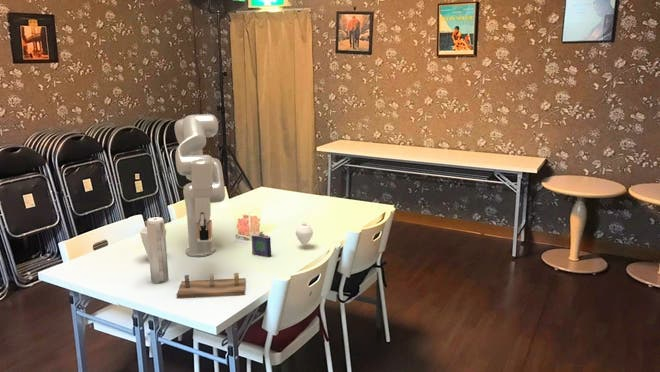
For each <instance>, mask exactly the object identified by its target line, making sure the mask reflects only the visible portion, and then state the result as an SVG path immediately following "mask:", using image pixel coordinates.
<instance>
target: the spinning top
mask: <svg viewBox="0 0 660 372" xmlns="http://www.w3.org/2000/svg"><path fill="white" fill-rule="evenodd" d="M313 234H314V231H313V228H311V226H310V225H308V224H307V221H306V222H305V221H302V222H301V225H298V227H297V228H296V230H295V236H296V238H297V240H298V242H300V243H301V245H302V246H303V248H304V249H305V248H306V246H307V245H308V244H309V242H310V240H311V239H312V237H313Z"/></svg>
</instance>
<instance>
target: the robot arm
mask: <svg viewBox="0 0 660 372" xmlns="http://www.w3.org/2000/svg"><path fill="white" fill-rule="evenodd" d="M218 131H219V122H218V119H217V117H216V116H215V115H214V114H210V113H206V114H204V113H203V114H190V115H187V116H184V117H183V118H181V119H178V120H177V121H176V122H175V123H174V133H175V138H176V141H177V143H178V144H179V145H178V146H177V147H176V150H175V154H174V156H175V157H174V158H175V166H176V171H177V173H178V174H179V175H181V176H185V177H186V179H187V180H188V181H191V182H188V183H186V184H184V187H183V190H182V193H183V198H184V202H185V211H186V216H187V217H186V218H187V219H186V220H187V223H186V224H187V235H188V248H186V249H185V254H186V255H187V256H189V257H193V258H194V257H196V258H197V257H198V258H199V257H201V258H202V257H207V256H211V255H213V254H214V253H215V251H216V248H215V246H213V245H212V241H207V242H198V241H197V238H198V233H197V223H198V222H199V220H200V230H199V231H200V240H208V239H209V235H208V230H207V223H208V222H209V220H211V214H212V213H211V212H212V211H211V209H212V208H211V204H215V203H221V202H223V201H224V200H225V198H226V189H225V181H224V173H223V168H222V163H221V161H220V160H219V158H216V157H212V156H211V155H209V154H204V153H203V149H204V147H205V146H207V138H212V137H215V136H216V134H217V133H218ZM204 221H206V222H204ZM204 224H206V226H205V225H204Z"/></svg>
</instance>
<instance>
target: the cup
mask: <svg viewBox="0 0 660 372" xmlns="http://www.w3.org/2000/svg"><path fill="white" fill-rule="evenodd" d="M139 233H140V234H139V235H140V238H141V241H142V244H143V247H144V250H145V253H146V256H147V260H148V262H150V261H149V249H148V237H147V226H145V227H142V228H141V229H140V230H139ZM165 237H167V227H166V226H165Z"/></svg>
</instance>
